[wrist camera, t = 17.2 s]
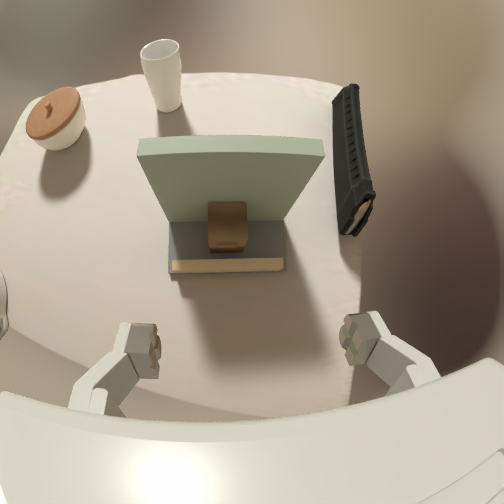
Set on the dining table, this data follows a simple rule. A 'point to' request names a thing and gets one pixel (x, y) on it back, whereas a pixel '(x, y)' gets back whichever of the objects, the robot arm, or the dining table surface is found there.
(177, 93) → the drinking glass
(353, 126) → the magazine
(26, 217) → the dining table surface
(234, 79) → the dining table surface
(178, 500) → the robot arm
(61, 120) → the lidded bowl
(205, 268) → the wall board
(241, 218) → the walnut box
